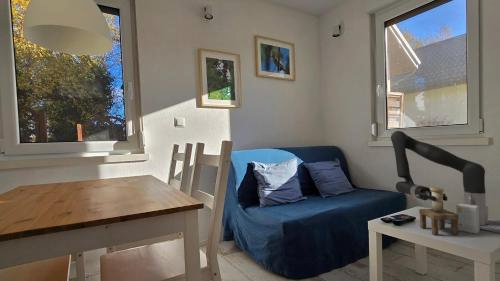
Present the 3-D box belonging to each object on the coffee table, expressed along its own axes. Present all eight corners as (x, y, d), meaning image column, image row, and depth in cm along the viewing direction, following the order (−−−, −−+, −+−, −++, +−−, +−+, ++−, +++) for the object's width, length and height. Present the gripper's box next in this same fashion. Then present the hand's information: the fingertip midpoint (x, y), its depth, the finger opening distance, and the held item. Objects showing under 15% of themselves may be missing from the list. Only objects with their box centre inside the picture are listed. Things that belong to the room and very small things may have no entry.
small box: (479, 231, 136) (479, 205, 136) (476, 234, 132) (476, 208, 132) (460, 227, 142) (459, 203, 142) (456, 230, 138) (456, 205, 138)
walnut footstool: (442, 227, 144) (441, 208, 143) (459, 235, 132) (458, 215, 131) (419, 227, 144) (419, 209, 144) (434, 235, 132) (433, 215, 132)
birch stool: (439, 208, 141) (439, 186, 141) (447, 211, 135) (447, 189, 135) (428, 208, 141) (427, 187, 141) (435, 211, 135) (434, 189, 135)
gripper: (407, 186, 152) (426, 192, 135) (433, 185, 152) (455, 191, 135) (408, 199, 152) (426, 206, 135) (433, 198, 152) (455, 206, 135)
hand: (440, 198), depth 135 cm, fingers open, 5 cm apart
